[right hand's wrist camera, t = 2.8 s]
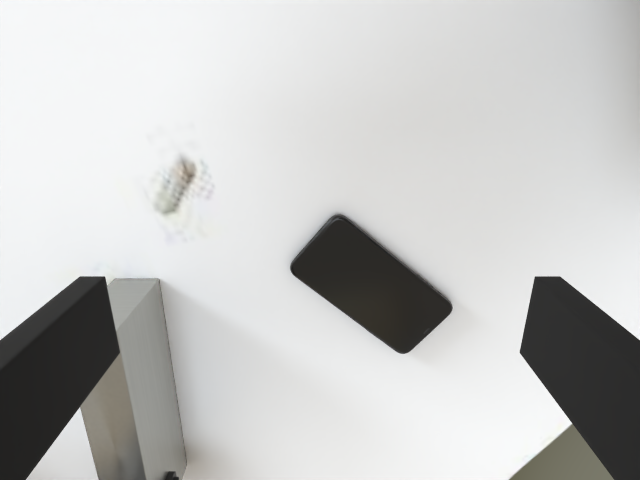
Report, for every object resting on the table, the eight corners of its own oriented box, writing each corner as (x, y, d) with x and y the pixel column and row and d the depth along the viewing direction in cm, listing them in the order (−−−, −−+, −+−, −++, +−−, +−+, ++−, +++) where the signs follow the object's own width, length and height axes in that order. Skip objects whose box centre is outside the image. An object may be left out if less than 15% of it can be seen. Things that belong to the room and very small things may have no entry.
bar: (114, 278, 42) (60, 330, 33) (159, 278, 42) (116, 330, 33) (150, 464, 51) (114, 544, 42) (187, 464, 51) (159, 544, 42)
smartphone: (285, 267, 41) (402, 353, 45) (285, 270, 41) (404, 358, 44) (337, 208, 39) (455, 304, 43) (337, 211, 38) (458, 308, 42)
